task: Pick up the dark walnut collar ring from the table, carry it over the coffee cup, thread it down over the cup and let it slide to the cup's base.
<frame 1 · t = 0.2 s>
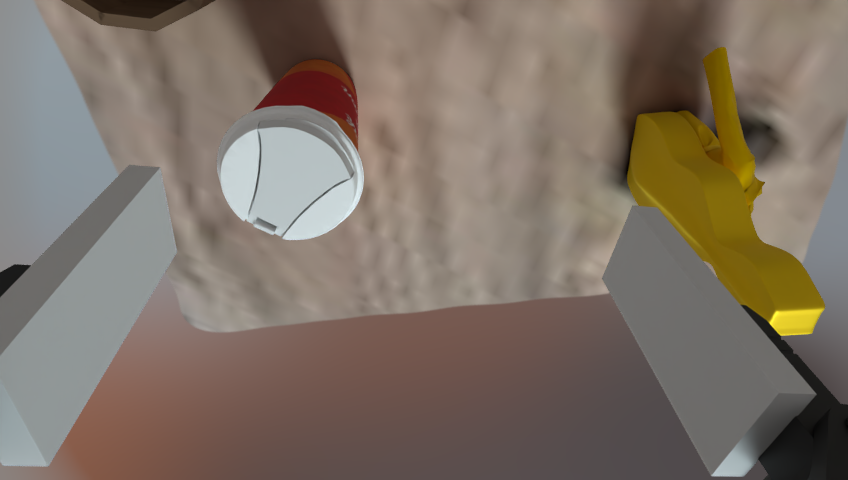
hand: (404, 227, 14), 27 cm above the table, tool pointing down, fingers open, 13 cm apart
coffee cup: (320, 95, 40), on the table
figure statuette: (652, 143, 44), on the table
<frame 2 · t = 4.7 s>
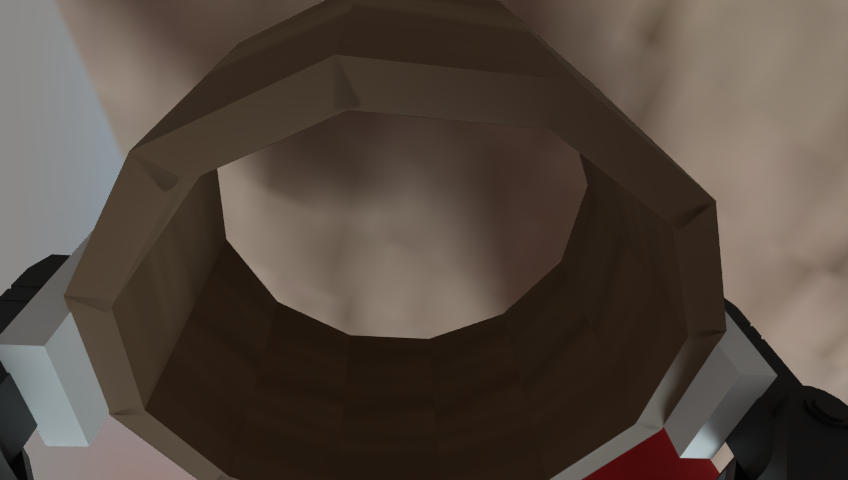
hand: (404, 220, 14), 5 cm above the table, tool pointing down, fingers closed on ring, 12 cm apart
ring: (404, 212, 15), point 5 cm above the table, touching gripper
coffee cup: (580, 367, 26), on the table
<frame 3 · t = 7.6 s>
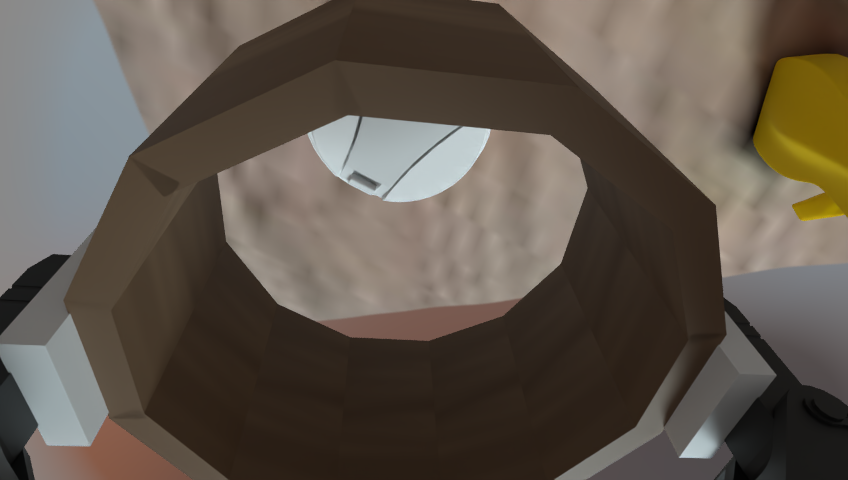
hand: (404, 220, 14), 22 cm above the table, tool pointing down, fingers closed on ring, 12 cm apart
ring: (404, 215, 15), point 22 cm above the table, touching gripper
coffee cup: (397, 37, 33), on the table
figure statuette: (787, 96, 36), on the table
when the fingers open (10 cm above the table, at t = 10.6 s): ring drops 10 cm, on the table.
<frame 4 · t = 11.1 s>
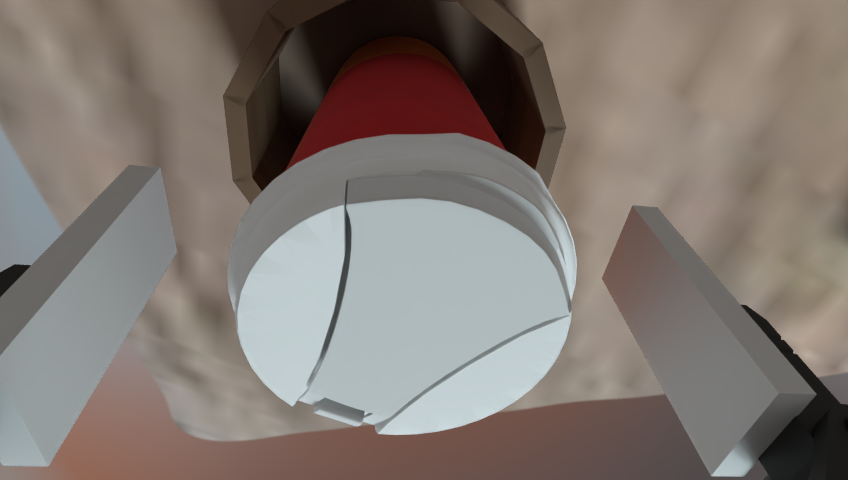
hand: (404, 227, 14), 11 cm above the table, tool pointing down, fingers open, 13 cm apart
ring: (395, 99, 23), on the table
coffee cup: (399, 99, 23), resting in ring
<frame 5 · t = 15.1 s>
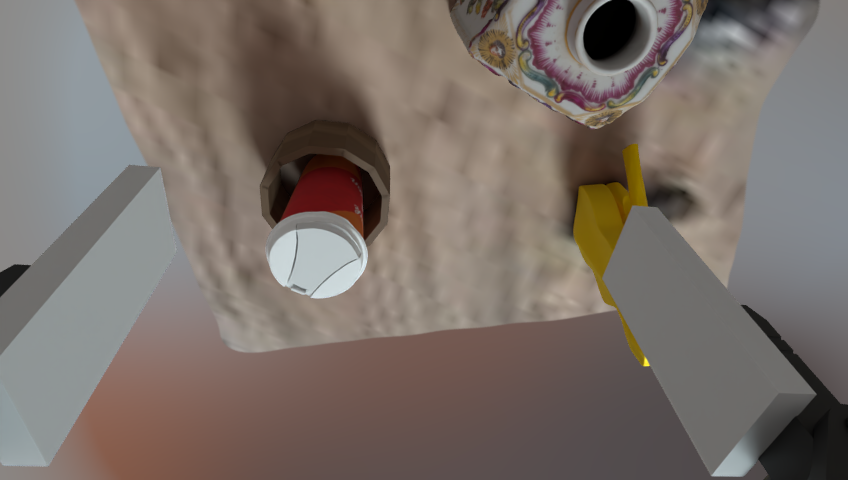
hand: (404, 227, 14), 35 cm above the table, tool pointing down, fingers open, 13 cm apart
ring: (331, 175, 52), on the table
coffee cup: (333, 175, 52), resting in ring
figure statuette: (593, 204, 56), on the table
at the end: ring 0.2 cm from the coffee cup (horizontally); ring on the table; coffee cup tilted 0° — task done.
